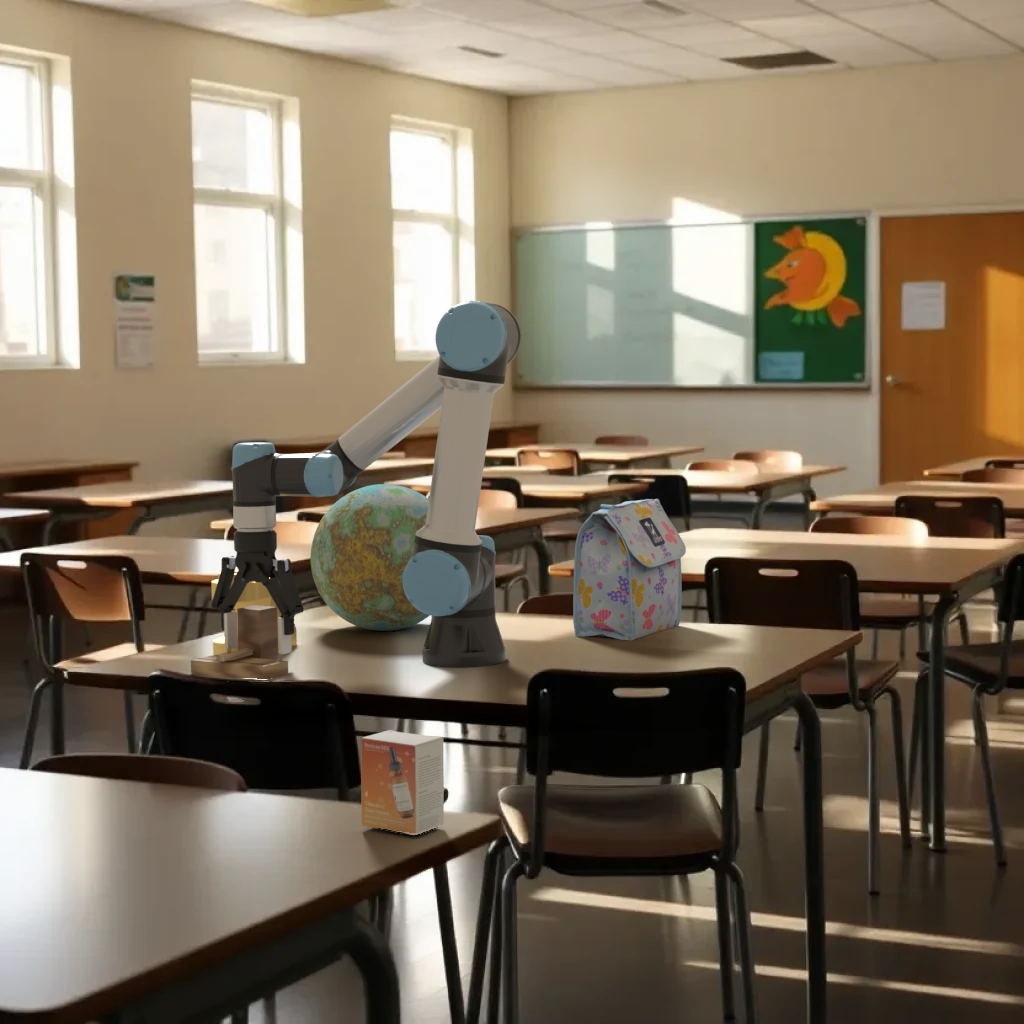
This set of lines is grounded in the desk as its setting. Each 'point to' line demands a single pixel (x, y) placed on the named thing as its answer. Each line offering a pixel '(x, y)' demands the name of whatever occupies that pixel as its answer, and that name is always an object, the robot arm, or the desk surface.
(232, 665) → the board
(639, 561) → the lunch bag
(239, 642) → the taupe upright block
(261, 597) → the clamp
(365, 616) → the decorative globe
